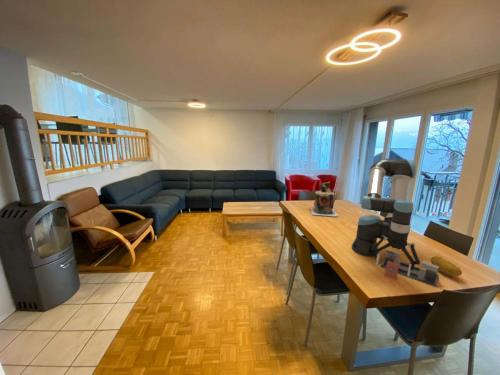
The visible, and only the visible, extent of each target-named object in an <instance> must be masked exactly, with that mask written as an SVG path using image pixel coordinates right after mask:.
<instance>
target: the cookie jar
mask: <svg viewBox="0 0 500 375" xmlns="http://www.w3.org/2000/svg"><path fill="white" fill-rule="evenodd" d="M330 183H331V182H330V181H328V182H322V183H321V184H320V185H319V189H320V190H316V191H315V192H314V194H315V198H314V202H313V205H314V207H311V206H310V207H309V210H310V212H311V214H312V216H322V217H333V218H334V217H335V218H337V217H339V214H338V213H337V212H336V211H335V209H334V205H335V202H336V197H335V193H334V192H332V191H331V189H330V187H331V186H330Z"/></svg>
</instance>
